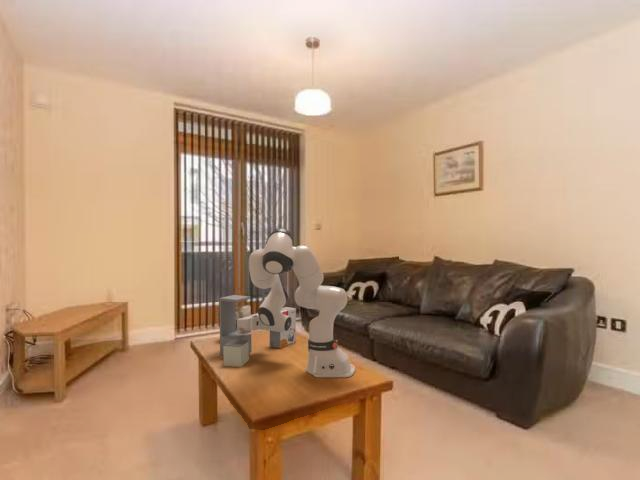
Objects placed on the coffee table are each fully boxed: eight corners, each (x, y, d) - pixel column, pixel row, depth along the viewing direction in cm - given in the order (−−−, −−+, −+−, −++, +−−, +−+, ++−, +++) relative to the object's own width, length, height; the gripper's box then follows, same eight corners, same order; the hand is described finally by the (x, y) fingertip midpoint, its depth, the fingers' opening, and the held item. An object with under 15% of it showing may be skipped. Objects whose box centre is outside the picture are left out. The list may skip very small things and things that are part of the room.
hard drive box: (280, 349, 198) (279, 312, 197) (269, 346, 202) (268, 311, 201) (296, 341, 211) (296, 307, 210) (285, 339, 215) (285, 306, 214)
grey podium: (251, 351, 194) (250, 296, 194) (237, 357, 184) (236, 299, 184) (234, 348, 200) (233, 294, 199) (220, 354, 190) (219, 298, 190)
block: (251, 332, 191) (250, 305, 190) (244, 334, 186) (244, 307, 186) (243, 330, 193) (243, 304, 193) (237, 333, 189) (236, 306, 189)
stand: (248, 360, 180) (248, 340, 180) (241, 366, 171) (240, 346, 171) (232, 359, 182) (231, 339, 182) (223, 365, 173) (223, 345, 173)
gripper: (275, 310, 192) (255, 308, 199) (249, 318, 174) (228, 315, 181) (275, 322, 192) (255, 319, 199) (250, 331, 174) (229, 328, 181)
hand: (242, 317), depth 190 cm, fingers closed on block, 5 cm apart
